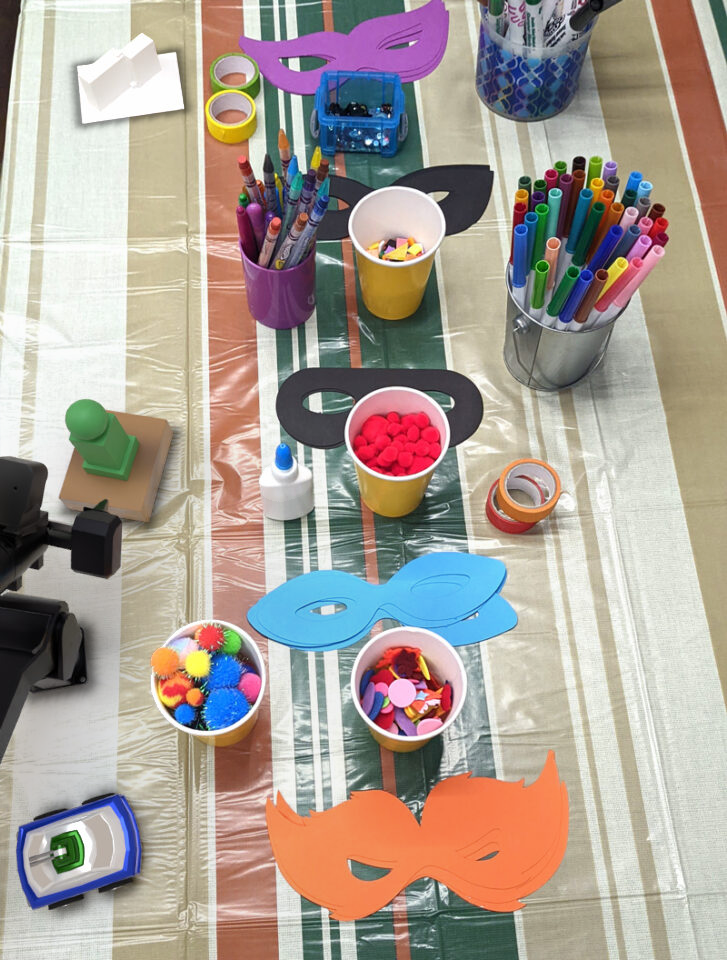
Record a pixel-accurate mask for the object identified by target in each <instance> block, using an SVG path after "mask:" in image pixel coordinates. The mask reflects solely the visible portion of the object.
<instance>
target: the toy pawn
mask: <svg viewBox="0 0 727 960" xmlns="http://www.w3.org/2000/svg"><path fill="white" fill-rule="evenodd" d="M105 410H106V409H105V407H104V406H103V405H102V404H101V403H100V402H98V401H96V400H94V399H91V398H81V399H78V400H76V401H73V403H71V404H70V405H69V406H68V408H67V410H66V412H65V416H64V422H65V426H66V429H67V430H68V432H69V434H70V435H69V436H68V441H69V442H70V443H71V445H72V446H73V447H75V448H76V450H77V451H78V452H79V453H80V455H81V456H82V457H83V459H84V462H83V465H82V468H83V469H84V470H85V471H86V473H89V474H94V475H99V476H104V477H109V478H114V479H119V480H125V481H127V480H128V477H129V474H130V471H131V468H132V465H133V462H134V459H135V456H136V452H137V449H138V446H139V441H138V440H137V438H136V436H131V435H127V434H126V432H125V430H124V429H123V427H122V426H121V424H120V422H119V421H118V419H117V417H116V416H115V414H112V413H107V412H106V411H105Z"/></svg>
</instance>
